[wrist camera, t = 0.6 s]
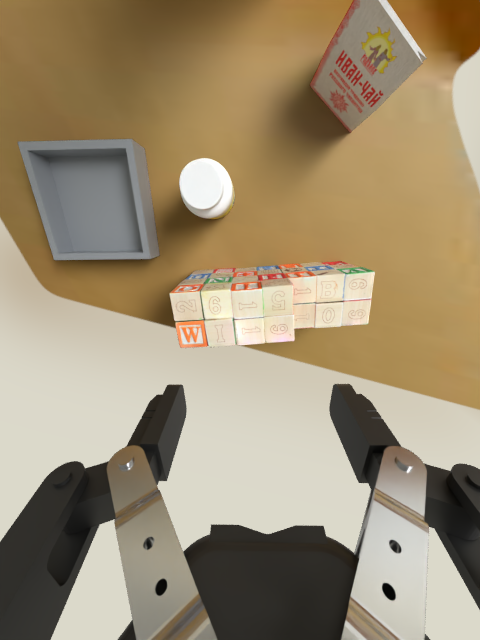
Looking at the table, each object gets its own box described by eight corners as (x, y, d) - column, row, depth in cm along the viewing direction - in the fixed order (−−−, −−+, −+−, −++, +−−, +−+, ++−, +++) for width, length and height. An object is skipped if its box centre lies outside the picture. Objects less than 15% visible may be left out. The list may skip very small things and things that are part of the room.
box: (43, 151, 28) (17, 141, 25) (144, 148, 28) (131, 138, 25) (72, 256, 33) (54, 260, 30) (159, 255, 33) (150, 258, 30)
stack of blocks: (342, 259, 33) (394, 277, 21) (338, 301, 35) (383, 338, 24) (193, 270, 34) (167, 293, 22) (199, 310, 36) (178, 349, 25)
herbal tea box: (334, 50, 24) (389, -57, 15) (375, 101, 26) (447, 33, 17) (309, 85, 26) (346, 6, 16) (350, 132, 27) (404, 85, 18)
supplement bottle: (184, 195, 30) (158, 182, 21) (214, 161, 28) (199, 132, 19) (214, 228, 31) (202, 229, 22) (243, 197, 30) (243, 185, 21)
